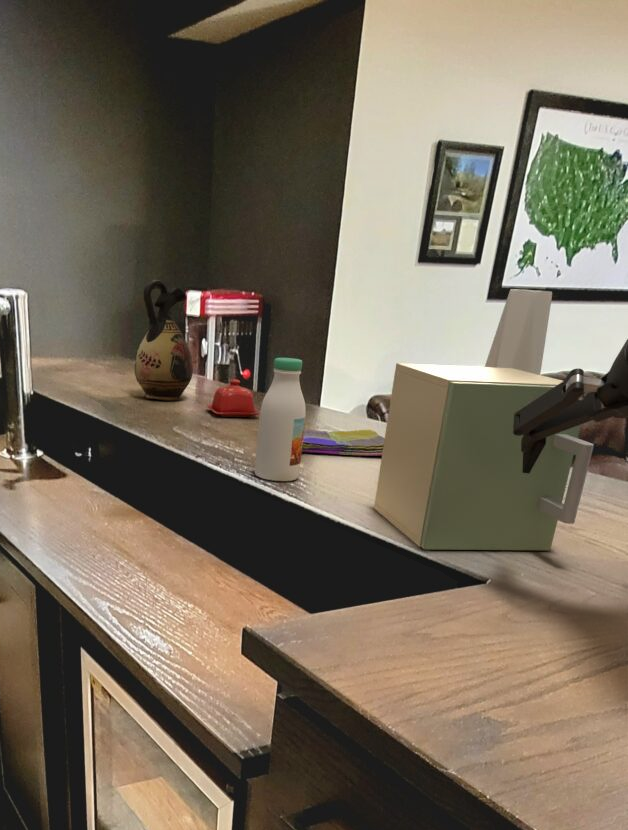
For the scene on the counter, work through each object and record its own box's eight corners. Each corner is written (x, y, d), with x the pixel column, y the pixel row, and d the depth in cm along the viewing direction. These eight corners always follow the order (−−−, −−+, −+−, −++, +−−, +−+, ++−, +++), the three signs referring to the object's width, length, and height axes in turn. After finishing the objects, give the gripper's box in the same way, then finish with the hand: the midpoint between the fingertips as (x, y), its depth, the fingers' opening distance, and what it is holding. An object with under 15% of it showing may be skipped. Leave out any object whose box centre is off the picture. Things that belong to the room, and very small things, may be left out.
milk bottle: (275, 484, 120) (288, 362, 113) (244, 473, 125) (255, 356, 119) (308, 479, 124) (322, 361, 118) (276, 468, 130) (288, 355, 123)
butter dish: (204, 409, 181) (206, 374, 178) (248, 410, 183) (251, 376, 180) (214, 418, 170) (217, 382, 168) (261, 419, 173) (264, 383, 170)
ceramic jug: (169, 392, 203) (175, 280, 193) (202, 401, 191) (210, 283, 182) (117, 394, 193) (120, 277, 184) (148, 405, 182) (154, 280, 172)
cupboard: (544, 548, 98) (583, 385, 91) (419, 547, 95) (449, 380, 88) (483, 510, 113) (512, 368, 106) (373, 508, 110) (396, 363, 103)
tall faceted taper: (445, 472, 134) (479, 287, 123) (471, 463, 142) (505, 288, 131) (511, 488, 126) (553, 291, 116) (535, 477, 134) (577, 293, 123)
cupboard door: (578, 567, 91) (622, 396, 84) (444, 567, 89) (478, 390, 82) (546, 547, 98) (584, 387, 90) (420, 546, 95) (449, 381, 88)
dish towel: (263, 433, 158) (264, 421, 157) (373, 439, 158) (375, 427, 157) (274, 452, 141) (275, 439, 140) (397, 459, 142) (399, 445, 141)
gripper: (523, 371, 67) (473, 484, 86) (838, 399, 61) (712, 514, 80) (525, 309, 70) (477, 431, 89) (826, 331, 64) (707, 457, 83)
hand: (588, 471), depth 84 cm, fingers open, 13 cm apart
